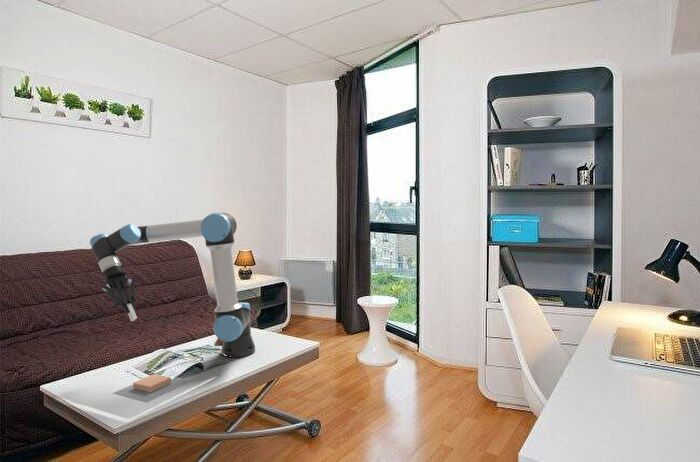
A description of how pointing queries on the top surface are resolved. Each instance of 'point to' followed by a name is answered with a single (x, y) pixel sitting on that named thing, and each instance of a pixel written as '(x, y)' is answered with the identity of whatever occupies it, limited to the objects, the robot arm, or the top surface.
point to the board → (147, 396)
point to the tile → (152, 383)
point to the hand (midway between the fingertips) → (134, 319)
